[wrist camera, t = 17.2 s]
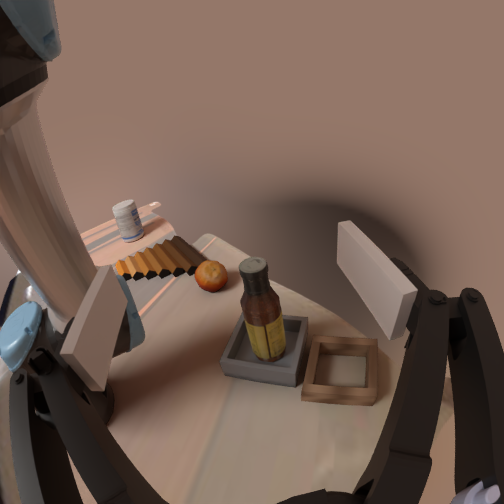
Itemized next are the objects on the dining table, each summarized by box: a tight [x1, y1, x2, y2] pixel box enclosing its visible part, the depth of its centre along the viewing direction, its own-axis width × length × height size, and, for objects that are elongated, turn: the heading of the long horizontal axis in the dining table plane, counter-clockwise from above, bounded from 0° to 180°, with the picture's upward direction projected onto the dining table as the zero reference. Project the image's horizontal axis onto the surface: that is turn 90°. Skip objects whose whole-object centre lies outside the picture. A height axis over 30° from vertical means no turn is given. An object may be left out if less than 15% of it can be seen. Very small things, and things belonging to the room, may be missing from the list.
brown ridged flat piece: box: [115, 236, 207, 281], centre depth 79 cm, size 25×3×25 cm
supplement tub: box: [112, 200, 144, 242], centre depth 100 cm, size 10×10×15 cm
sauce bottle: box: [239, 257, 286, 362], centre depth 44 cm, size 6×6×20 cm
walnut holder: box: [301, 335, 378, 406], centre depth 42 cm, size 12×12×4 cm
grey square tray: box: [219, 312, 308, 387], centre depth 48 cm, size 13×13×4 cm
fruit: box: [195, 260, 228, 292], centre depth 68 cm, size 8×8×8 cm
